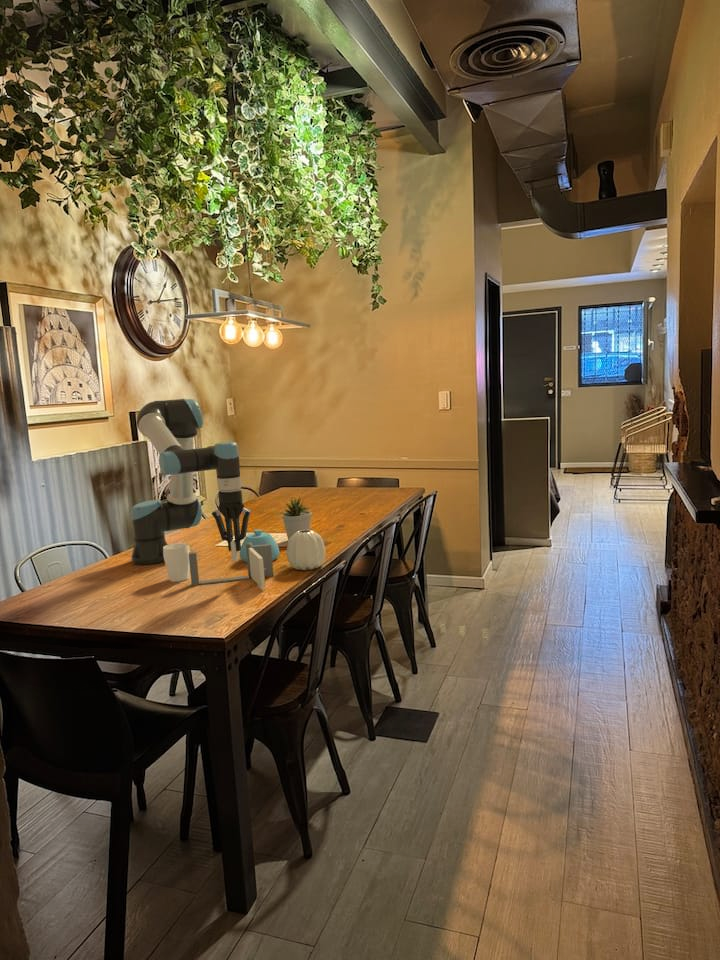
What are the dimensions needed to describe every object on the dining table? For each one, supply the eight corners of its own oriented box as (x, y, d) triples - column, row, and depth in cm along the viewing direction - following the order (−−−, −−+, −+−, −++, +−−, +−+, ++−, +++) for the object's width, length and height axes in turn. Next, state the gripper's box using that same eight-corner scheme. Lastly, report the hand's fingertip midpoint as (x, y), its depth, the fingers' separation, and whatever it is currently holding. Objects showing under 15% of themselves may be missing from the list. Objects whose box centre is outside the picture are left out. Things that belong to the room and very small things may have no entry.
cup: (172, 584, 220) (168, 550, 219) (162, 579, 227) (158, 546, 226) (196, 578, 226) (193, 545, 224) (185, 573, 233) (182, 541, 231)
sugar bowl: (287, 556, 249) (285, 527, 247) (261, 566, 236) (258, 536, 235) (259, 553, 257) (256, 524, 255) (232, 562, 245) (229, 533, 243)
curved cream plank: (250, 576, 221) (248, 548, 219) (257, 575, 222) (255, 547, 220) (261, 588, 206) (259, 558, 205) (269, 587, 207) (266, 557, 206)
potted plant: (275, 541, 274) (271, 495, 272) (301, 535, 283) (298, 490, 281) (293, 545, 265) (289, 498, 262) (319, 539, 274) (316, 492, 271)
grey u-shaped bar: (192, 583, 220) (188, 549, 219) (273, 574, 225) (270, 540, 224) (191, 585, 217) (188, 551, 216) (273, 576, 223) (270, 542, 221)
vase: (280, 568, 232) (277, 532, 230) (312, 560, 241) (309, 525, 239) (302, 575, 222) (299, 537, 220) (334, 566, 230) (332, 529, 228)
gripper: (206, 492, 205) (212, 563, 209) (245, 491, 204) (251, 563, 207) (214, 488, 213) (220, 557, 217) (252, 487, 211) (258, 556, 215)
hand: (235, 560), depth 212 cm, fingers closed
